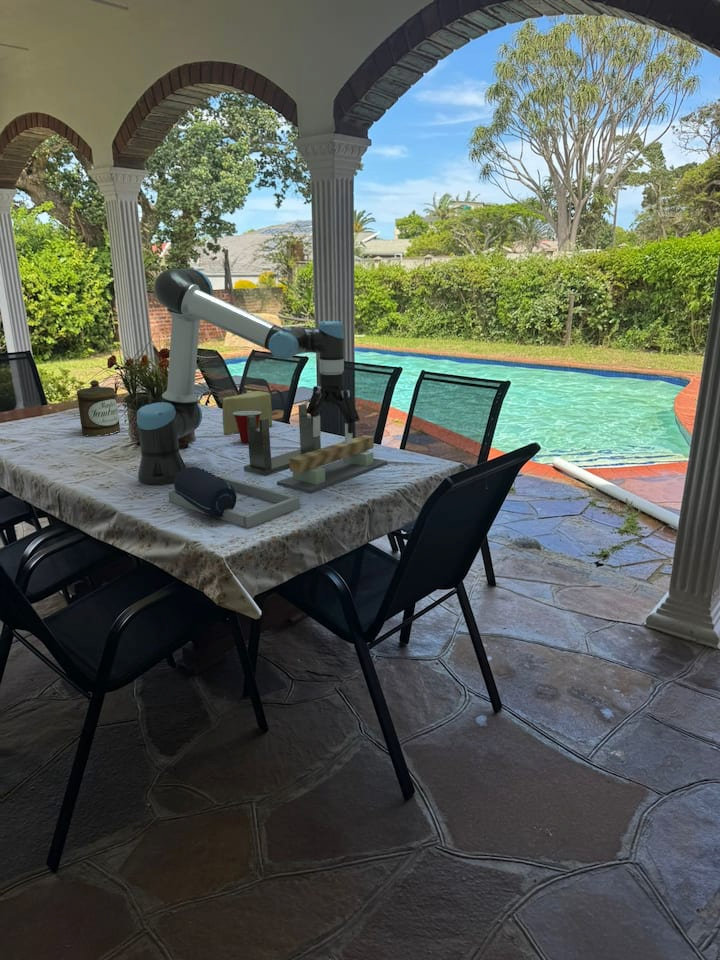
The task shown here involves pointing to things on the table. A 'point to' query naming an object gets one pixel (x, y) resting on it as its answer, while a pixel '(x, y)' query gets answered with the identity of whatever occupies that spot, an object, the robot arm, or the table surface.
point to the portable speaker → (205, 491)
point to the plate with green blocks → (332, 472)
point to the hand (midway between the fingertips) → (332, 439)
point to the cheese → (245, 408)
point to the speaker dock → (248, 520)
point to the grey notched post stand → (261, 444)
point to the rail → (330, 454)
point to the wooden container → (98, 410)
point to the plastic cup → (245, 422)
